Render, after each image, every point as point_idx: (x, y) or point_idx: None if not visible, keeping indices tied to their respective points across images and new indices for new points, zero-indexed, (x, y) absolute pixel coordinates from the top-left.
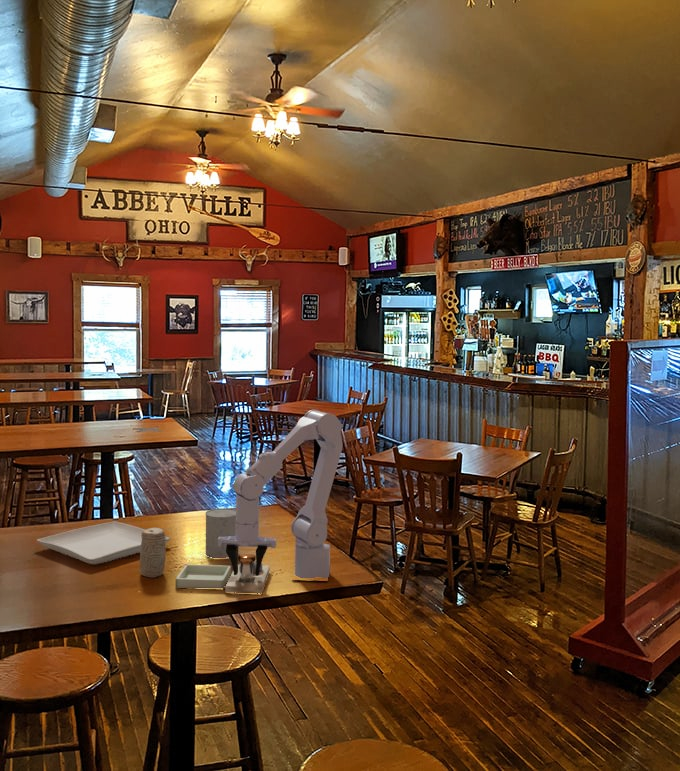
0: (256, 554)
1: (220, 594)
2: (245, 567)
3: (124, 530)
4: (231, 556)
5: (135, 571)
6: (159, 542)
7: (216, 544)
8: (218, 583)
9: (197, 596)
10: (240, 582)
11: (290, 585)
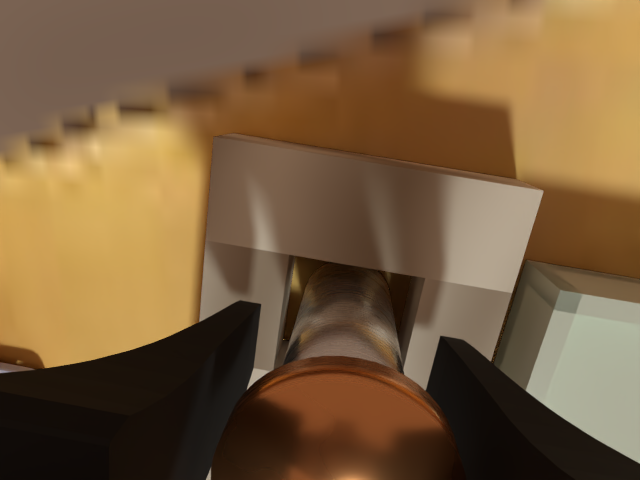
0: (145, 397)
1: (556, 176)
2: (357, 348)
3: None
4: (606, 462)
5: None
6: None
7: None
8: (589, 285)
9: None
10: (399, 268)
11: (47, 305)
